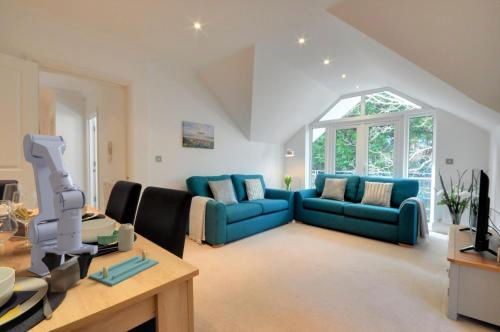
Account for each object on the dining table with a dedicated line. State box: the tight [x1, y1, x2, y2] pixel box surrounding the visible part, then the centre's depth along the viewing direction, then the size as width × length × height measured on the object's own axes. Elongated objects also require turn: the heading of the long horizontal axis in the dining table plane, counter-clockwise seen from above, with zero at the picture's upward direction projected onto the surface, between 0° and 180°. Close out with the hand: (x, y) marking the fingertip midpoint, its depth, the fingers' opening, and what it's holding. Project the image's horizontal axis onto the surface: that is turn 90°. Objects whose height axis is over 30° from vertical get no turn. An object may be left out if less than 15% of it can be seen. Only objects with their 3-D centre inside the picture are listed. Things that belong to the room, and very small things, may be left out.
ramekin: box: [96, 229, 118, 245], centre depth 102 cm, size 9×9×4 cm
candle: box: [117, 223, 135, 252], centre depth 96 cm, size 6×6×10 cm
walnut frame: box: [50, 255, 80, 294], centre depth 70 cm, size 4×10×6 cm, turn 4°
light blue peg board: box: [88, 250, 159, 287], centre depth 78 cm, size 11×17×4 cm, turn 154°
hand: (70, 278), depth 70 cm, fingers open, 7 cm apart
